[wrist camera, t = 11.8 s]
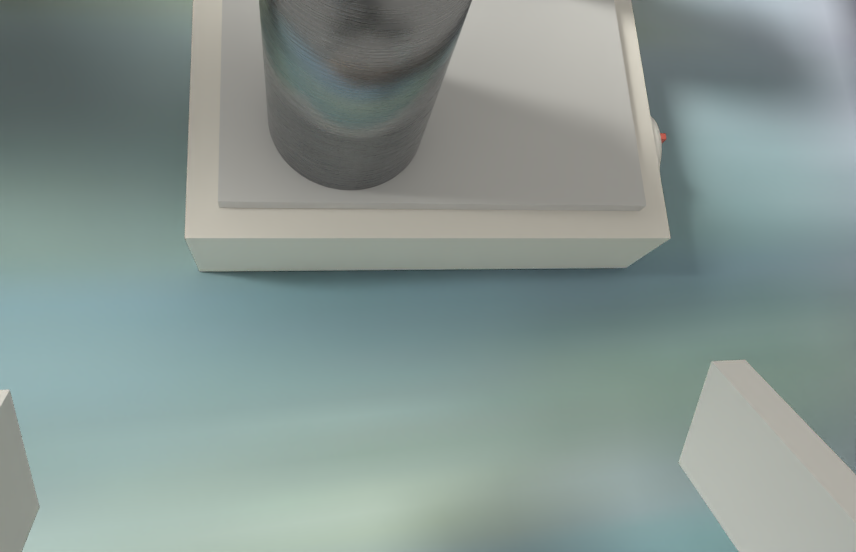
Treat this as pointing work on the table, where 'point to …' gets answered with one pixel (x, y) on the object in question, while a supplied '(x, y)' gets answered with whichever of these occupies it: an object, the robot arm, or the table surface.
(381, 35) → the ball
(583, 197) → the scale
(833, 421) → the table surface
